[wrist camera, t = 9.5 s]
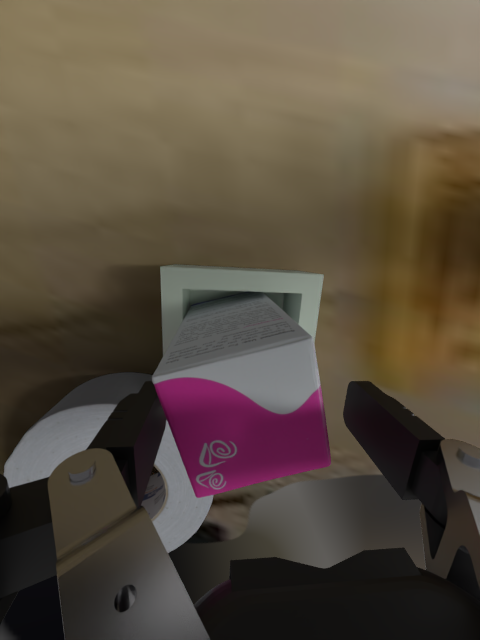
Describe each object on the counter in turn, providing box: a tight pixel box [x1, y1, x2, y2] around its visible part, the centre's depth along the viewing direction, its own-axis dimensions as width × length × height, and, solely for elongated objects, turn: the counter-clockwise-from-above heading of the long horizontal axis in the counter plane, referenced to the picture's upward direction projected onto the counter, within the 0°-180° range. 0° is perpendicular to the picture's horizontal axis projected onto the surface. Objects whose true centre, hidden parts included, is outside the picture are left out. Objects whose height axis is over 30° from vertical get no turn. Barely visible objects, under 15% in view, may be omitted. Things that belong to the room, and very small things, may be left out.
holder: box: [160, 264, 324, 356], centre depth 18 cm, size 10×10×5 cm
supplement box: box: [152, 291, 331, 498], centre depth 14 cm, size 6×6×12 cm
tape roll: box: [4, 372, 213, 553], centre depth 20 cm, size 15×15×5 cm
